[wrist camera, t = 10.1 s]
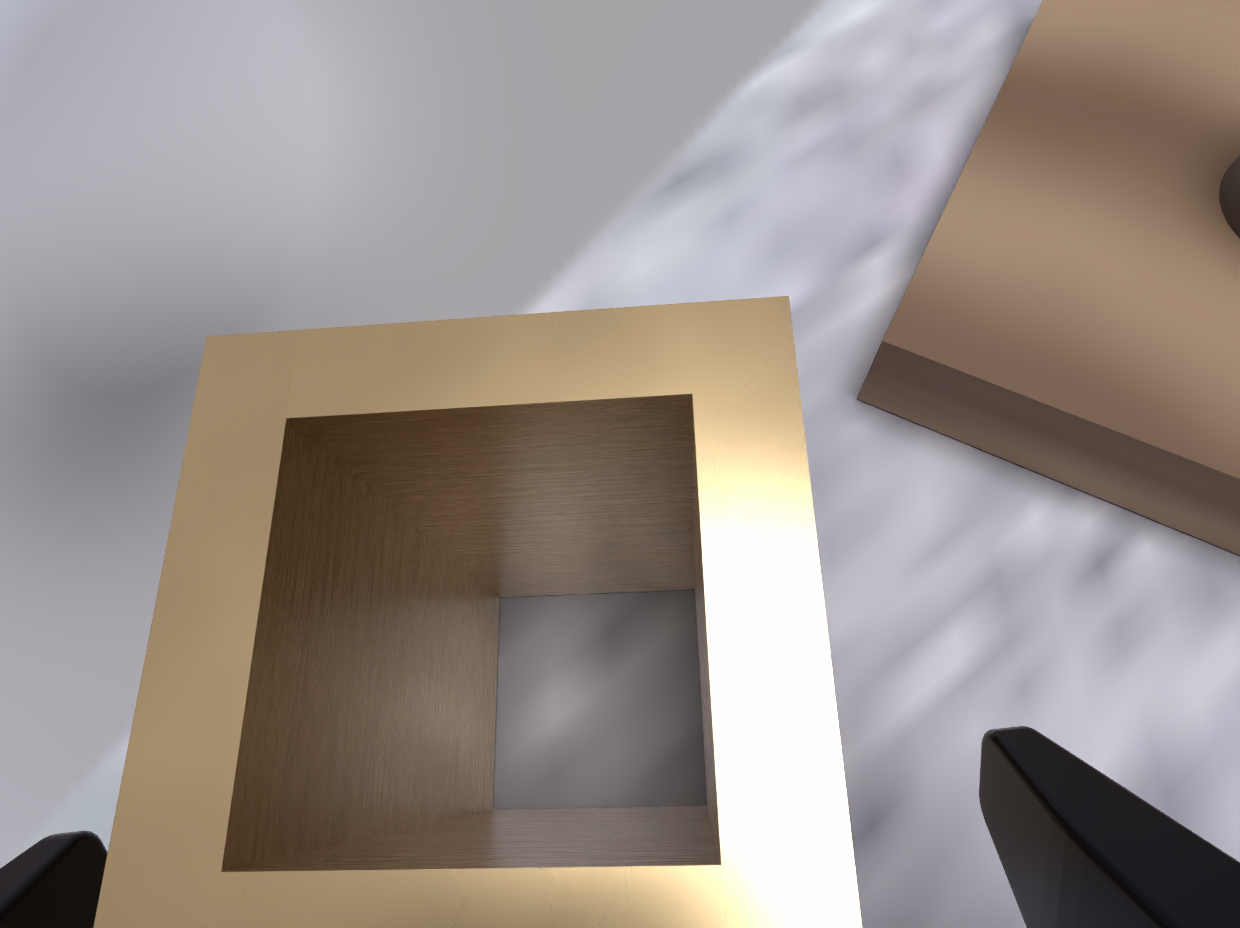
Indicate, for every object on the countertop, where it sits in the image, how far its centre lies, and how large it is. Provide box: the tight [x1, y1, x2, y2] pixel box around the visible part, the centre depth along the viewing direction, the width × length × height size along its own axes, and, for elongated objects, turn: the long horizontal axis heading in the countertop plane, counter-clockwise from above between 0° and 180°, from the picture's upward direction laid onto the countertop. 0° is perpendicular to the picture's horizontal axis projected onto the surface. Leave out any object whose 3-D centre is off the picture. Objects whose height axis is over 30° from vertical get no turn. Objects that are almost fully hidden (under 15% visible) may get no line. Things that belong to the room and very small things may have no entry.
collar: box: [93, 296, 862, 928], centre depth 11 cm, size 6×6×9 cm
